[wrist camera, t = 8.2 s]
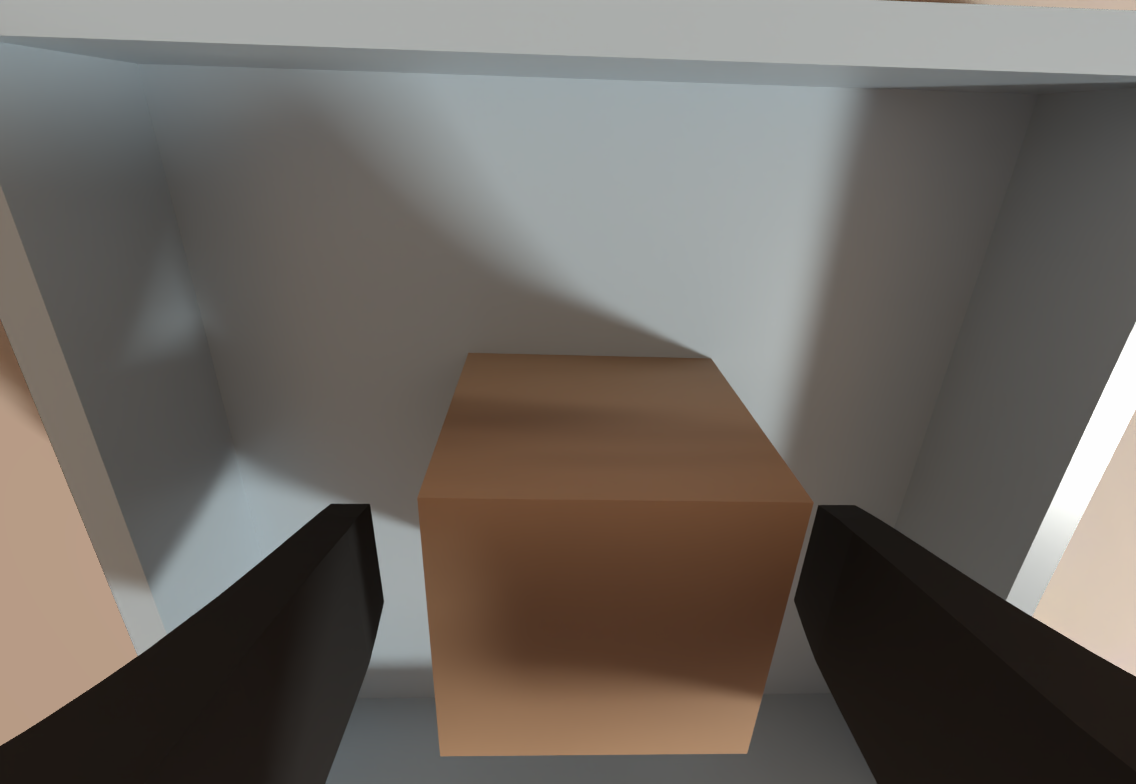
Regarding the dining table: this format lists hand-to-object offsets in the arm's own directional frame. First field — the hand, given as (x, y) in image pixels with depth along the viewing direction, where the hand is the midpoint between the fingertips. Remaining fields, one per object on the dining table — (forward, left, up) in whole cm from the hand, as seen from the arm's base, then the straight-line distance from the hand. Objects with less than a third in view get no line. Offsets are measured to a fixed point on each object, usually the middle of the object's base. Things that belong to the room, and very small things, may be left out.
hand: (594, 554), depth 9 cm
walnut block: (0, 0, -3) cm, 3 cm away
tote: (0, 0, -3) cm, 3 cm away
